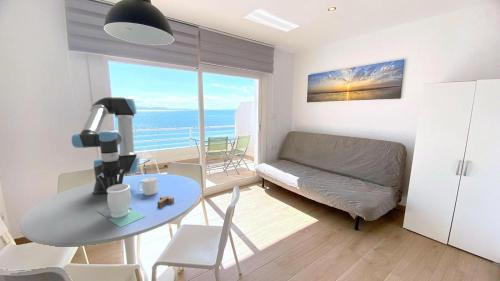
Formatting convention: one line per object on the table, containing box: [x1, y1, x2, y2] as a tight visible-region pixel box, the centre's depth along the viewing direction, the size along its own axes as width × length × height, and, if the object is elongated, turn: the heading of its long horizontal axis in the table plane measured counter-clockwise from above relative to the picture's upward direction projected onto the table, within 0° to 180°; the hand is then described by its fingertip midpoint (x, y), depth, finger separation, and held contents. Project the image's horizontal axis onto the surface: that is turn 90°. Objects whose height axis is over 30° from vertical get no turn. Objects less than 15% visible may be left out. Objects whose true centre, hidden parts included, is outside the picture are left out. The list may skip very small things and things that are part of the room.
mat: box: [98, 207, 146, 228], centre depth 108 cm, size 26×12×1 cm, turn 56°
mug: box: [137, 176, 159, 196], centre depth 136 cm, size 12×9×9 cm
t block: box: [156, 195, 175, 208], centre depth 120 cm, size 8×8×3 cm
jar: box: [106, 183, 132, 218], centre depth 106 cm, size 11×10×15 cm
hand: (114, 201), depth 111 cm, fingers closed
